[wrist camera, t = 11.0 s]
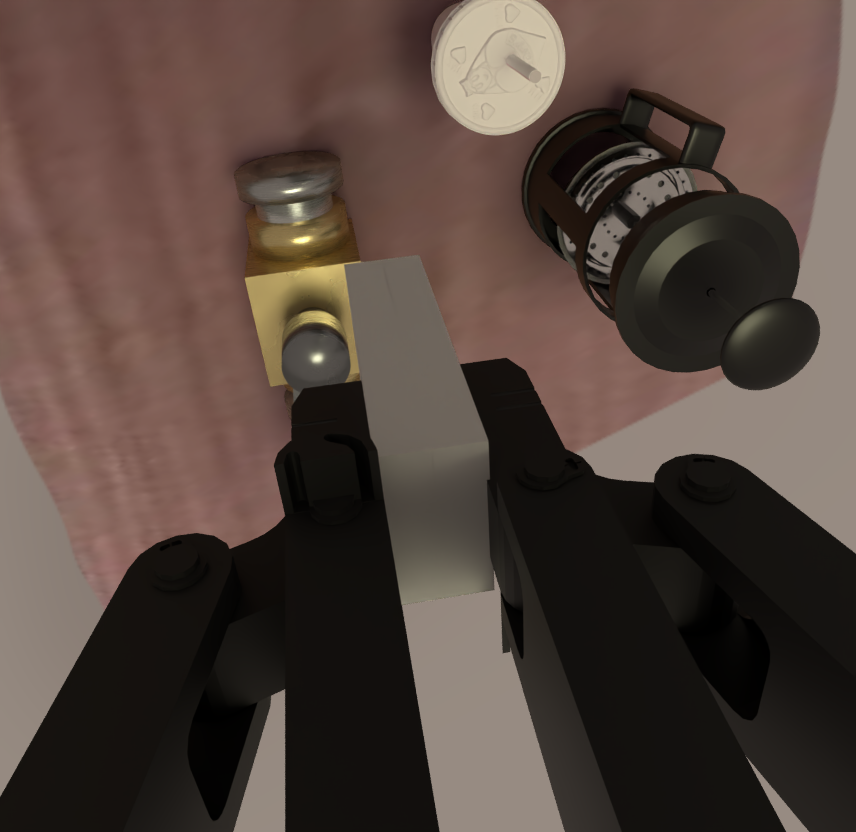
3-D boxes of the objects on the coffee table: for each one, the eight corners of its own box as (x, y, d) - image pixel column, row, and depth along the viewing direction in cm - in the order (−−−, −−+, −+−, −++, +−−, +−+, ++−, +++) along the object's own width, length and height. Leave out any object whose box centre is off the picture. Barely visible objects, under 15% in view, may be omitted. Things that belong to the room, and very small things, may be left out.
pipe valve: (233, 160, 47) (223, 206, 40) (340, 145, 48) (350, 188, 40) (284, 389, 56) (284, 461, 49) (374, 375, 56) (388, 444, 49)
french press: (630, 272, 55) (814, 467, 36) (502, 252, 53) (625, 449, 34) (694, 95, 49) (955, 215, 30) (552, 64, 47) (737, 173, 28)
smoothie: (535, 59, 47) (618, 111, 35) (441, 119, 48) (491, 187, 36) (486, -50, 43) (560, -34, 32) (386, 16, 44) (421, 55, 33)
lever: (280, 309, 43) (280, 336, 40) (347, 308, 44) (350, 334, 41) (289, 503, 50) (289, 537, 48) (346, 501, 51) (349, 533, 48)
